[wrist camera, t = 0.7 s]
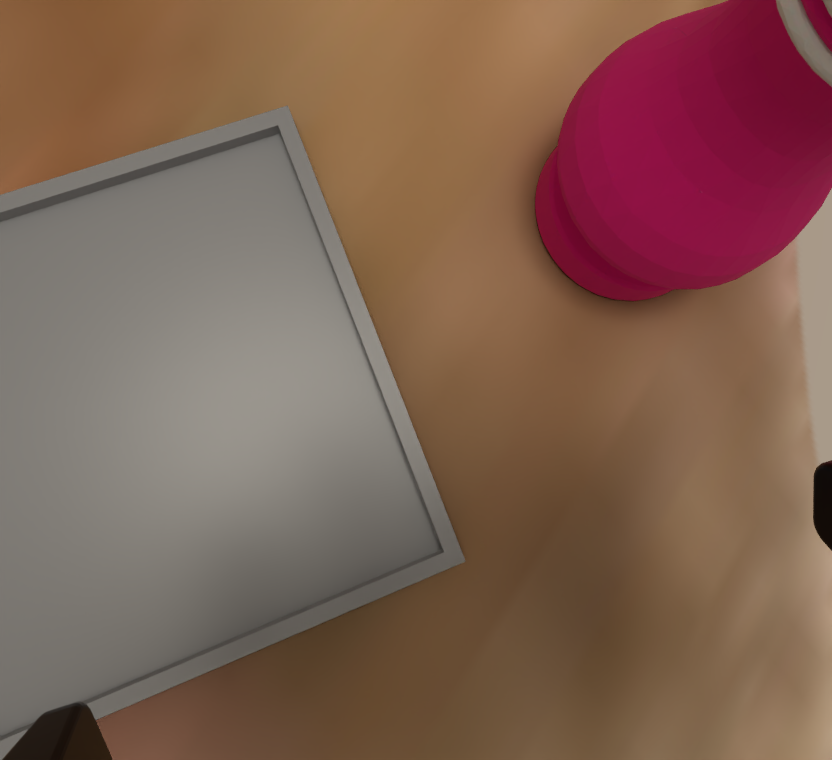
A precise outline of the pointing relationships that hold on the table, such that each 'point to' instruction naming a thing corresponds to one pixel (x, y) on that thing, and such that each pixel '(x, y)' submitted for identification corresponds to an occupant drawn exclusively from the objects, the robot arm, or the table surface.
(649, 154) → the pepper mill
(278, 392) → the tray
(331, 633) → the table surface
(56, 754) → the robot arm
